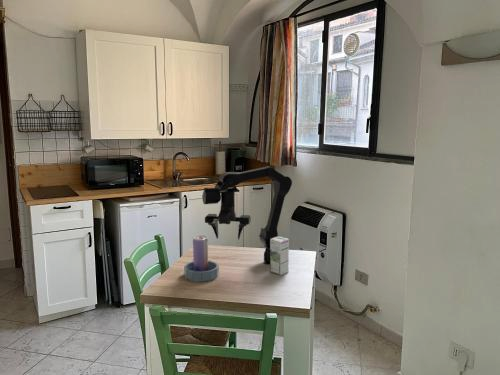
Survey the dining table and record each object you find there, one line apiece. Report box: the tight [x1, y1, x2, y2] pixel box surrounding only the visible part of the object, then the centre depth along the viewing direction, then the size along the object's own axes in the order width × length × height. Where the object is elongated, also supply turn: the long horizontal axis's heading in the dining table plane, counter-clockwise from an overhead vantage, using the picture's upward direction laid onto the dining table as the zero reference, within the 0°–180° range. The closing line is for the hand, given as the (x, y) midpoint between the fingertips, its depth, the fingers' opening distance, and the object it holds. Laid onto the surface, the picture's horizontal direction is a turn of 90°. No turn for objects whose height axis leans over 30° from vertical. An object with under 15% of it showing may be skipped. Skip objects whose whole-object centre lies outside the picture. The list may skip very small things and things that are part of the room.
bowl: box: [183, 260, 220, 283], centre depth 166 cm, size 14×14×4 cm
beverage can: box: [192, 235, 209, 272], centre depth 165 cm, size 6×6×15 cm
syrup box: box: [269, 235, 290, 276], centre depth 169 cm, size 6×6×14 cm
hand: (228, 238), depth 172 cm, fingers open, 9 cm apart
